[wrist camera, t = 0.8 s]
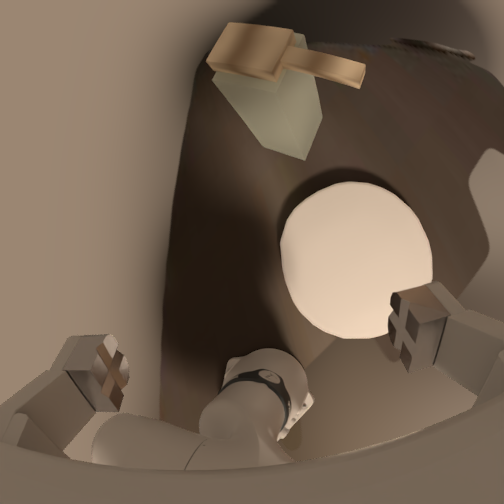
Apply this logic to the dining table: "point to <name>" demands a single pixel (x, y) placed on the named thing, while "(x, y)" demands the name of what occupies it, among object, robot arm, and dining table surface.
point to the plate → (352, 257)
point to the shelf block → (276, 107)
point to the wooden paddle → (276, 56)
